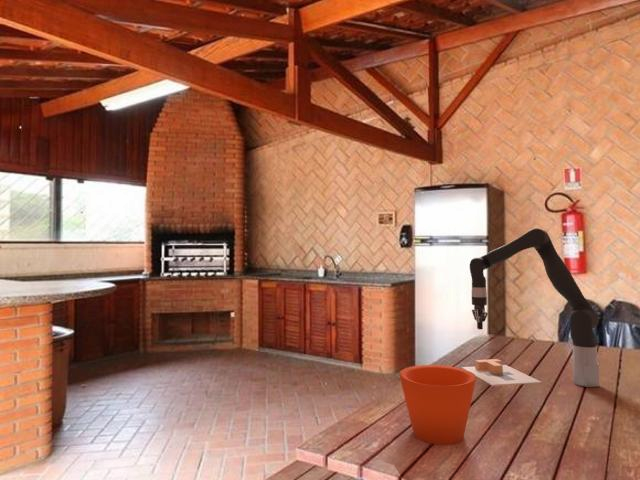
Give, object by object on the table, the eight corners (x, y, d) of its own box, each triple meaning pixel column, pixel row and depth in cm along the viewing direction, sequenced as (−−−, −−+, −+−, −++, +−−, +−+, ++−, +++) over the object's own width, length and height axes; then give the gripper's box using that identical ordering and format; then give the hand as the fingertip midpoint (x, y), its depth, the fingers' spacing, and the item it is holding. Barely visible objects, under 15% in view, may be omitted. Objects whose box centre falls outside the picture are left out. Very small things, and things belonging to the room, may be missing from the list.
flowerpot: (421, 414, 168) (420, 361, 168) (489, 431, 152) (487, 372, 152) (386, 437, 149) (385, 377, 149) (459, 459, 133) (458, 391, 133)
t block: (510, 373, 218) (510, 365, 218) (487, 374, 216) (486, 366, 216) (497, 366, 230) (497, 359, 230) (475, 368, 228) (475, 360, 228)
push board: (541, 383, 204) (541, 381, 204) (491, 386, 201) (491, 384, 201) (505, 365, 233) (505, 364, 234) (461, 368, 230) (461, 367, 230)
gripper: (492, 297, 229) (493, 331, 229) (479, 294, 243) (480, 326, 242) (478, 297, 228) (479, 331, 228) (466, 294, 242) (467, 327, 241)
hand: (479, 329), depth 235 cm, fingers closed
